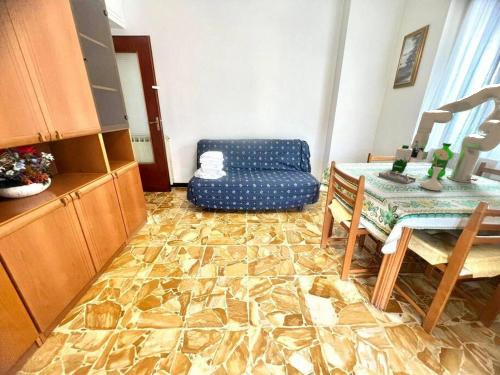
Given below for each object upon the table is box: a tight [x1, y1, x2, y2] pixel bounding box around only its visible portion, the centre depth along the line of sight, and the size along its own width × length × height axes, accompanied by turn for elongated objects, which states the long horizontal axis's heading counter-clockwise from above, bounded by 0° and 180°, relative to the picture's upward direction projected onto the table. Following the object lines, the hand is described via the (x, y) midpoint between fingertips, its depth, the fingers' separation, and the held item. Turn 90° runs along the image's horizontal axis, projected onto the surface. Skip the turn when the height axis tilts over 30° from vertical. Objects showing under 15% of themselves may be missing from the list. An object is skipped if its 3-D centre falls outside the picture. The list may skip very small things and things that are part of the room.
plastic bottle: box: [427, 142, 454, 179], centre depth 147 cm, size 10×10×25 cm
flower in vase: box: [419, 148, 449, 191], centre depth 126 cm, size 13×11×25 cm
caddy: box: [378, 170, 417, 185], centre depth 146 cm, size 18×13×4 cm
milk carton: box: [391, 144, 411, 174], centre depth 161 cm, size 9×9×20 cm
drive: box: [406, 148, 429, 161], centre depth 144 cm, size 10×6×6 cm, turn 26°
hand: (416, 156), depth 145 cm, fingers closed on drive, 6 cm apart
